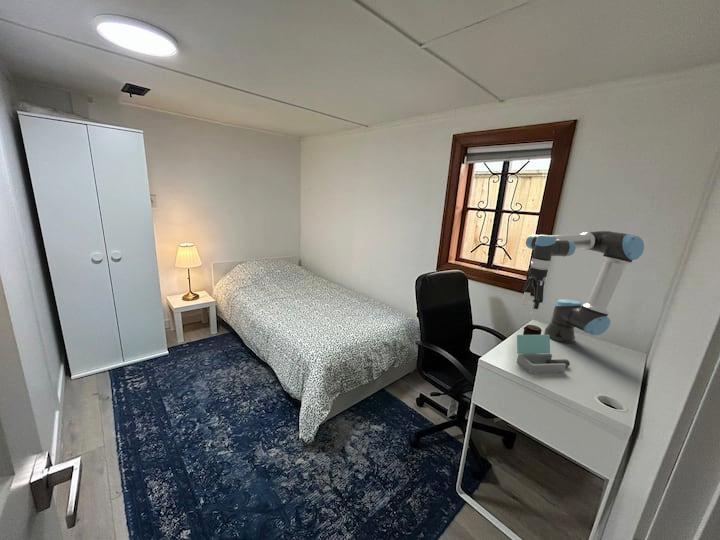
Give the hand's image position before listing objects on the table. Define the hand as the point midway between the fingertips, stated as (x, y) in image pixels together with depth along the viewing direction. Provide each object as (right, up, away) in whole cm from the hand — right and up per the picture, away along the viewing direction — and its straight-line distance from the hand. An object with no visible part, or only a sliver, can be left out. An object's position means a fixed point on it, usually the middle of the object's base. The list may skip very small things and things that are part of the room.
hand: (528, 309), depth 146 cm
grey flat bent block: (+3, -27, -4) cm, 27 cm away
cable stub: (+13, -27, -2) cm, 30 cm away
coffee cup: (+6, -23, +12) cm, 26 cm away
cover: (+2, -17, 0) cm, 17 cm away
